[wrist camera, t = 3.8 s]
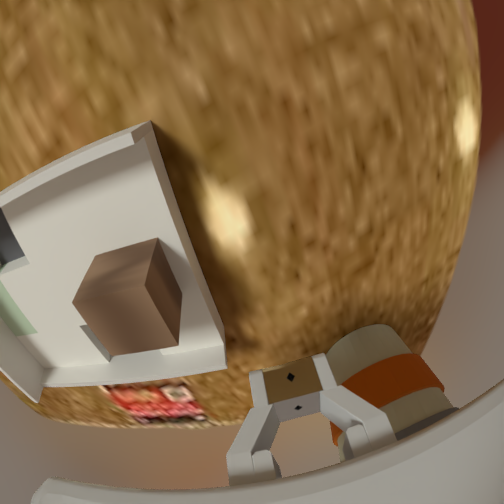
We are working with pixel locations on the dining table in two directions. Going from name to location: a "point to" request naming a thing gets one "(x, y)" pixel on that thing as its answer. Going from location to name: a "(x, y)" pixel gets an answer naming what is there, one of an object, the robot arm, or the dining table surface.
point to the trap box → (80, 258)
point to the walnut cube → (131, 299)
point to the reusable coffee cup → (387, 380)
